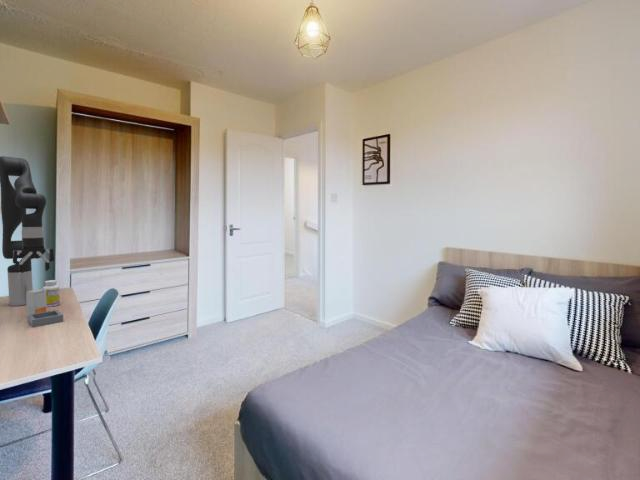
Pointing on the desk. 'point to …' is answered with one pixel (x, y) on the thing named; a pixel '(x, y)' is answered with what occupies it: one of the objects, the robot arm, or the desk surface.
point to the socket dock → (45, 318)
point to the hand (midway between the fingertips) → (34, 271)
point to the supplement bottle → (52, 293)
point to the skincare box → (36, 301)
